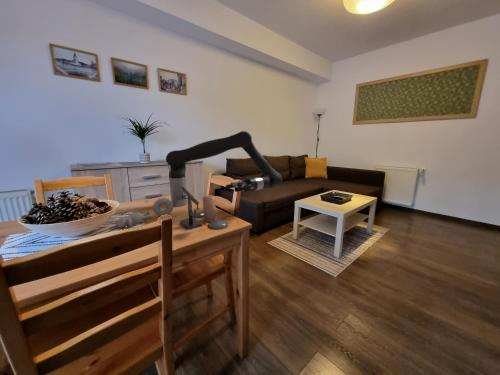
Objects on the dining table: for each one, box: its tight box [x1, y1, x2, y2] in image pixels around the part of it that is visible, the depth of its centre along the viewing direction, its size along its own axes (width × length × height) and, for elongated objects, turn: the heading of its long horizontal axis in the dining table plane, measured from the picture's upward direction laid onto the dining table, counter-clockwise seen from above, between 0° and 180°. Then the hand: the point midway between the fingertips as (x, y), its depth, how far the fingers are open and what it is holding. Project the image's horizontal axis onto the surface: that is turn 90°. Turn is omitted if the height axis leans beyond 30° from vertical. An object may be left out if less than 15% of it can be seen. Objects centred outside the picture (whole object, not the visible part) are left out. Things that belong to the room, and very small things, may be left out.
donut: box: [152, 197, 174, 217], centre depth 108 cm, size 10×4×10 cm, turn 120°
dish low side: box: [208, 219, 229, 230], centre depth 98 cm, size 9×9×1 cm
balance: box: [176, 187, 205, 231], centre depth 97 cm, size 23×7×17 cm, turn 38°
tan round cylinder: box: [202, 195, 217, 223], centre depth 104 cm, size 6×6×12 cm
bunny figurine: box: [115, 211, 154, 229], centre depth 99 cm, size 10×5×15 cm
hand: (230, 188), depth 109 cm, fingers open, 8 cm apart
